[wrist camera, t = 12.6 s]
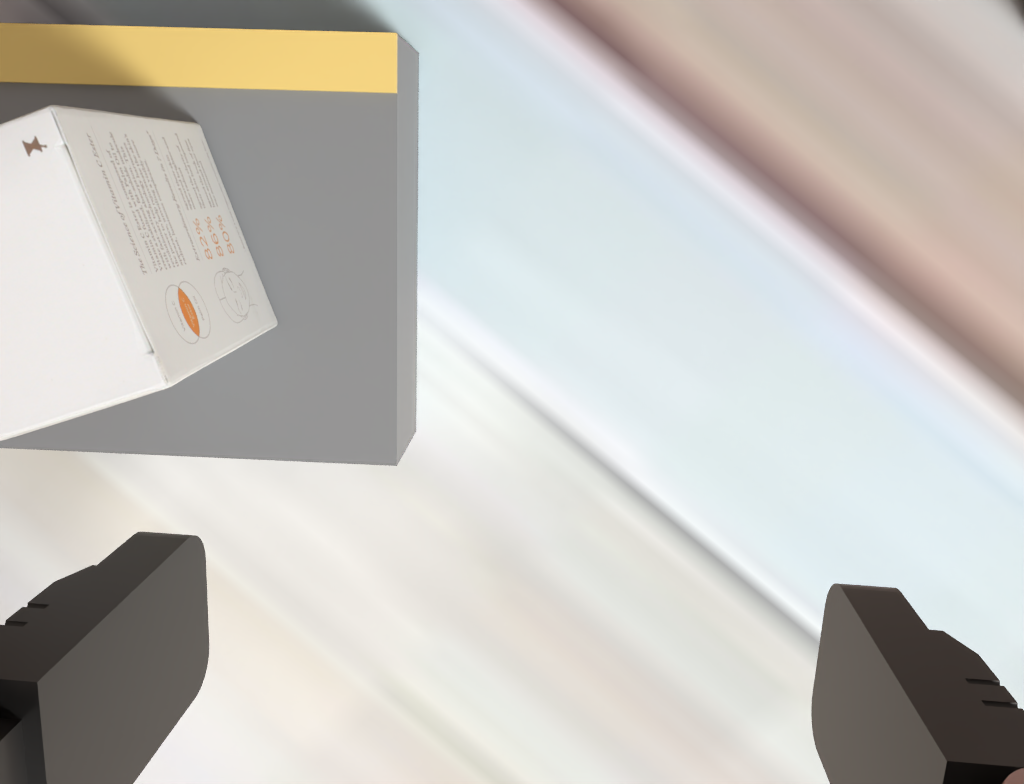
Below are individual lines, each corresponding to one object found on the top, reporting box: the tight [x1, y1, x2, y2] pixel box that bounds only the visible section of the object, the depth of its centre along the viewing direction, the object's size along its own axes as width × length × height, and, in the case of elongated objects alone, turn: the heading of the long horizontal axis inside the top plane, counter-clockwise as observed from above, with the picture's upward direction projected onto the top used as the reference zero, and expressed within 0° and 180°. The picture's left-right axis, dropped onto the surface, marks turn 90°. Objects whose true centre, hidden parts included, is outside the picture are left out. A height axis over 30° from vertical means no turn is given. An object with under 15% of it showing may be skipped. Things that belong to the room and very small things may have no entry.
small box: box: [0, 105, 278, 441], centre depth 29 cm, size 8×6×10 cm
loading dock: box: [0, 23, 419, 466], centre depth 37 cm, size 17×16×5 cm
